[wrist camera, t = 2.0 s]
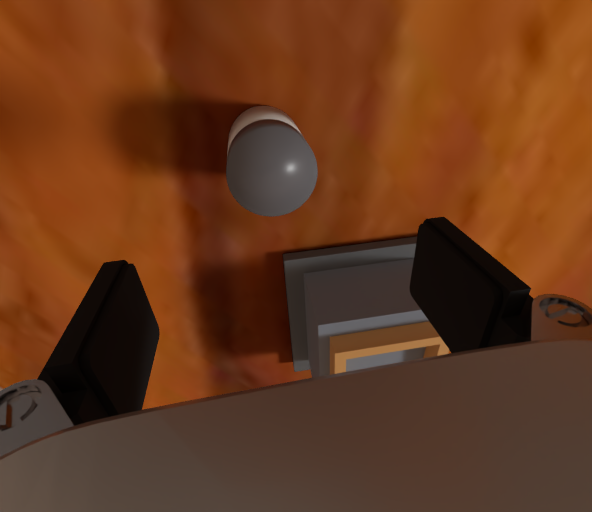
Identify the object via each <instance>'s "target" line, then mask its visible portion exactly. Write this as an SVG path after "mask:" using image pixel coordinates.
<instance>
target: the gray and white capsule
mask: <svg viewBox="0 0 592 512" xmlns="http://www.w3.org/2000/svg"><path fill="white" fill-rule="evenodd" d="M226 177H227V183H228V186H229V189H230V191H231V193H232V195H233V197H234V198H235V199H236V201H237V202H238V203H239V204H240V205H241V206H243V207H244V208H245V209H247V210H249V211H251V212H253V213H255V214H258V215H263V216H280V215H284V214H287V213H290V212H292V211H294V210H295V209H297V208H299V207H300V206H301V205H302V204H303V203H304V202H305V201H306V200H307V199H308V198H309V196H310V195H311V193H312V191H313V189H314V187H315V184H316V180H317V163H316V159H315V156H314V154H313V152H312V150H311V148H310V147H309V145H308V143H307V142H306V140H305V139H304V137H303V136H302V134H301V133H300V131H299V129H298V128H297V126H296V125H295V123H294V122H293V120H292V119H291V118H290V117H289V116H288V115H287V114H286V113H285V112H283V111H281V110H280V109H277V108H275V107H271V106H256V107H252V108H250V109H248V110H246V111H244V112H243V113H241V114H240V115H239V116H238V117H237V119H236V120H235V121H234V123H233V124H232V127H231V129H230V132H229V138H228V152H227V167H226Z"/></svg>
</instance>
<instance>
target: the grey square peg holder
mask: <svg viewBox="0 0 592 512" xmlns="http://www.w3.org/2000/svg"><path fill="white" fill-rule="evenodd" d="M416 242H417V237H410V238H402V239H395V240H387V241H379V242H372V243H364V244H357V245H349V246H341V247H334V248H326V249H319V250H311V251H303V252H296V253H288V254H283V262H284V273H285V283H286V294H287V304H288V314H289V325H290V335H291V345H292V356H293V365H294V371H295V372H296V371H302V370H308V369H311V374H312V378H315V377H320V376H326V375H331V374H337V373H342V372H348V371H354V370H359V369H365V368H370V367H376V366H382V365H387V364H393V363H399V362H404V361H410V360H416V359H422V358H427V357H433V356H439V355H445V354H448V351H449V348H448V347H447V346H446V344H445V343H444V341H443V340H442V339H441V337H440V336H439V334H438V333H437V332H436V330H435V329H434V327H433V326H432V324H431V323H430V322H429V320H428V319H427V317H426V316H425V315H424V313H423V312H422V310H421V309H420V308H419V306H418V305H417V303H416V302H415V300H414V299H413V298H412V296H411V294H410V280H411V274H412V267H413V261H414V255H415V248H416Z"/></svg>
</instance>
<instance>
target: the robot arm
mask: <svg viewBox="0 0 592 512" xmlns="http://www.w3.org/2000/svg"><path fill="white" fill-rule="evenodd" d="M530 290H531V288H530V287H529V286H528V285H526V284H525V283H524V282H523V281H522V280H520V279H519V278H518V277H517V276H515V275H514V274H513V273H512V272H511V271H509V270H508V269H507V268H506V267H505V266H503V265H502V264H501V263H500V262H498V261H497V260H496V259H495V258H494V257H492V256H491V255H490V254H489V253H488V252H486V251H485V250H484V249H483V248H481V247H480V246H479V245H478V244H477V243H475V242H474V241H473V240H472V239H471V238H469V237H468V236H467V235H466V234H464V233H463V232H462V231H461V230H460V229H458V228H457V227H456V226H455V225H454V224H452V223H451V222H450V221H449V220H447V219H446V218H445V217H438V218H430V219H426V220H425V221H424V223H423V224H421V225H420V226H419V229H418V236H417V242H416V248H415V255H414V261H413V267H412V274H411V280H410V294H411V296H412V298H413V299H414V300H415V302H416V303H417V305H418V306H419V308H420V309H421V310H422V312H423V313H424V315H425V316H426V317H427V319H428V320H429V322H430V323H431V324H432V326H433V327H434V329H435V330H436V332H437V333H438V334H439V336H440V337H441V339H442V340H443V341H444V343H445V344H446V346H447V347H448V348H449V350H450V351H451V353H450V354H445V355H439V356H433V357H427V358H422V359H416V360H410V361H404V362H399V363H393V364H387V365H382V366H376V367H370V368H365V369H359V370H354V371H348V372H342V373H337V374H331V375H326V376H320V377H315V378H309V379H304V380H298V381H293V382H287V383H282V384H276V385H271V386H265V387H260V388H254V389H249V390H244V391H238V392H233V393H228V394H222V395H217V396H211V397H206V398H201V399H195V400H190V401H185V402H179V403H174V404H169V405H164V406H159V407H154V408H149V409H144V410H142V406H143V402H144V398H145V394H146V390H147V386H148V381H149V377H150V373H151V369H152V365H153V361H154V356H155V352H156V348H157V344H158V340H159V327H158V324H157V321H156V319H155V316H154V314H153V311H152V309H151V306H150V303H149V301H148V298H147V296H146V293H145V291H144V288H143V286H142V283H141V281H140V278H139V276H138V273H137V270H136V268H135V266H134V265H133V264H128V262H127V261H126V260H120V261H112V262H105V263H104V264H103V265H102V267H101V268H100V270H99V272H98V274H97V275H96V277H95V279H94V281H93V282H92V284H91V286H90V288H89V290H88V291H87V293H86V295H85V297H84V298H83V300H82V302H81V304H80V305H79V307H78V309H77V311H76V312H75V314H74V316H73V318H72V319H71V321H70V323H69V325H68V326H67V328H66V330H65V332H64V333H63V335H62V337H61V339H60V340H59V342H58V344H57V346H56V347H55V349H54V351H53V353H52V354H51V356H50V358H49V360H48V361H47V363H46V365H45V367H44V368H43V370H42V372H41V374H40V375H39V377H38V379H33V380H25V381H22V382H19V383H15V384H13V385H11V386H9V387H7V388H5V389H3V390H1V391H0V512H592V309H591V308H590V307H588V306H587V305H585V304H584V303H582V302H580V301H578V300H576V299H573V298H570V297H567V296H563V295H557V294H543V295H539V296H537V297H536V298H534V299H533V298H532V297H531V296H530V295H529V292H530Z"/></svg>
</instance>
